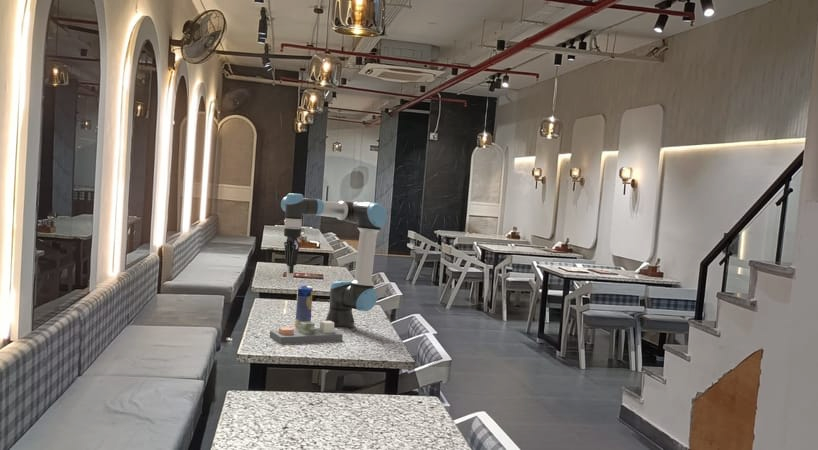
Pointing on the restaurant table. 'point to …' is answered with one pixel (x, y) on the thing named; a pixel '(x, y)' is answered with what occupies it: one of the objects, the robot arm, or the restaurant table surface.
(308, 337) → the gray slotted block tray
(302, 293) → the beverage box
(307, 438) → the restaurant table surface
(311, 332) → the sage block
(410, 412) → the restaurant table surface
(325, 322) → the off-white block
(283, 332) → the terracotta block
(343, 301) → the robot arm
